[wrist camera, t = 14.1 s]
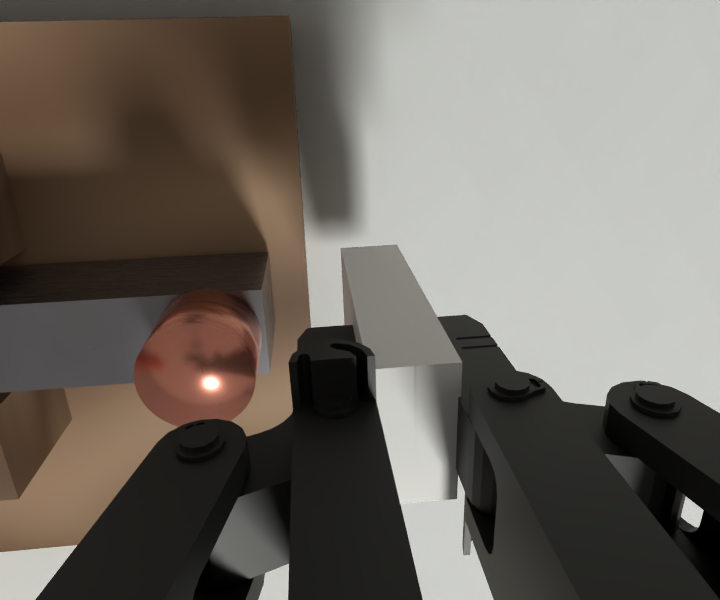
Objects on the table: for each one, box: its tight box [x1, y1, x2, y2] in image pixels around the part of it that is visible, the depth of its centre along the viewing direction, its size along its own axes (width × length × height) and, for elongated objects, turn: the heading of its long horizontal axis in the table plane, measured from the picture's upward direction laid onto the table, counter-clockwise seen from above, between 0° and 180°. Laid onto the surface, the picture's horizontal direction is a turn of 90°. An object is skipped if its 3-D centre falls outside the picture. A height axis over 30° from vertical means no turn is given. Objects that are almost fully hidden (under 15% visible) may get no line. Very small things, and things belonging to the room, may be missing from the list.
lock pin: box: [0, 252, 276, 427], centre depth 13 cm, size 2×9×5 cm, turn 91°
